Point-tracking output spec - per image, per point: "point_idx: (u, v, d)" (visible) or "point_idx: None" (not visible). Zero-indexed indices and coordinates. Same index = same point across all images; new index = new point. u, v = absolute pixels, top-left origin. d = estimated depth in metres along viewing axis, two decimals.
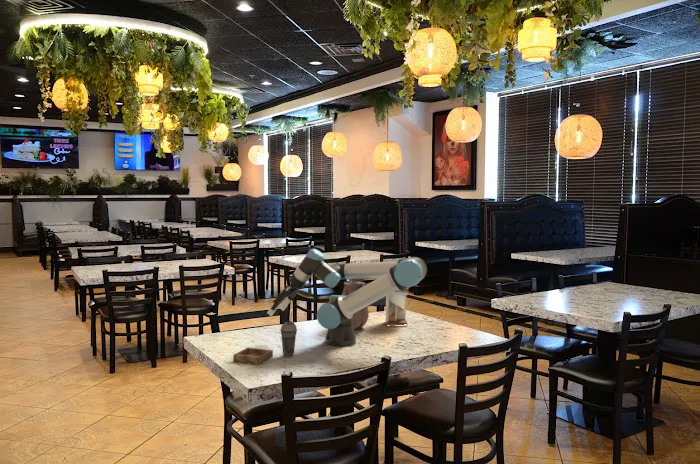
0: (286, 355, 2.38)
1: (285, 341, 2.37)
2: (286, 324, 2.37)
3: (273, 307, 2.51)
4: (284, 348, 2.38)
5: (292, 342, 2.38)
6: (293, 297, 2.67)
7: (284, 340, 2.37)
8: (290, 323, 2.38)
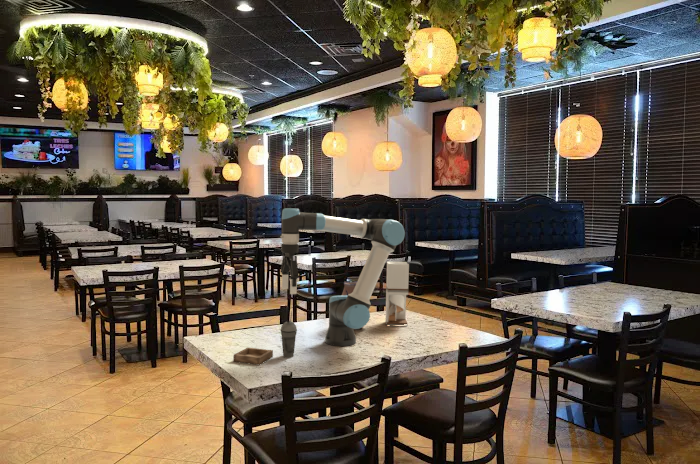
0: (286, 355, 2.38)
1: (285, 341, 2.37)
2: (286, 324, 2.37)
3: (294, 283, 2.31)
4: (284, 348, 2.38)
5: (292, 342, 2.38)
6: None
7: (284, 340, 2.37)
8: (290, 323, 2.38)
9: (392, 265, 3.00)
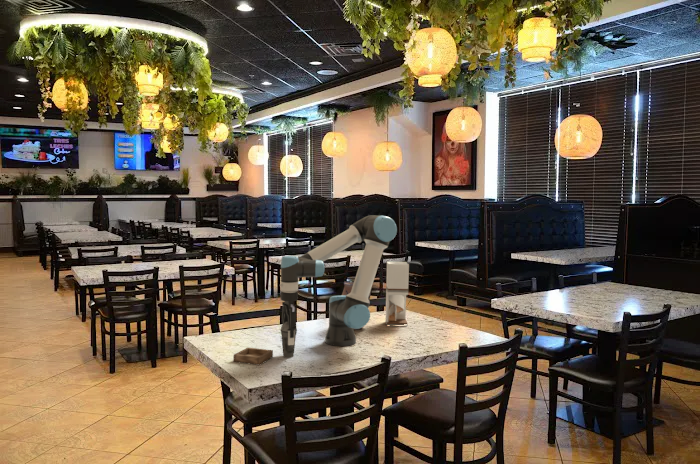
0: (286, 355, 2.38)
1: (285, 341, 2.37)
2: (286, 324, 2.37)
3: (292, 334, 2.34)
4: (284, 348, 2.38)
5: None
6: None
7: (284, 340, 2.37)
8: None
9: (392, 265, 3.00)
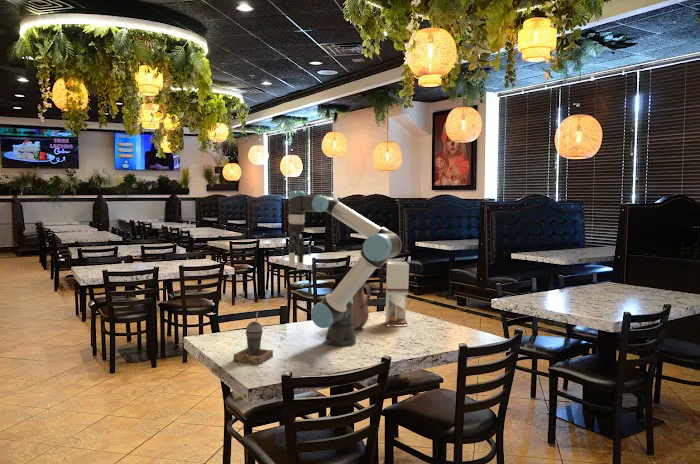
0: None
1: (250, 342, 2.31)
2: (251, 324, 2.31)
3: (301, 259, 2.52)
4: (249, 349, 2.32)
5: (257, 343, 2.32)
6: None
7: (248, 341, 2.31)
8: (255, 323, 2.32)
9: (392, 265, 3.00)
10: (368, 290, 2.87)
